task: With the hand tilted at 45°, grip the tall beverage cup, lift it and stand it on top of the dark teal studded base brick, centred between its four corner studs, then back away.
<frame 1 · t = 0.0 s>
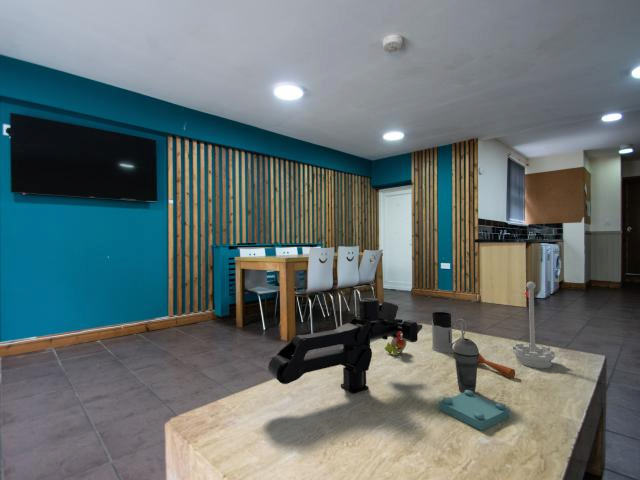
hand: (411, 323, 114), 17 cm above the table, tool horizontal, fingers open, 9 cm apart
base brick: (473, 413, 85), on the table
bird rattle: (396, 354, 133), on the table
kendama: (485, 369, 116), on the table
beverage cup: (467, 391, 98), on the table
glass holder: (448, 350, 136), on the table
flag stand: (533, 363, 121), on the table
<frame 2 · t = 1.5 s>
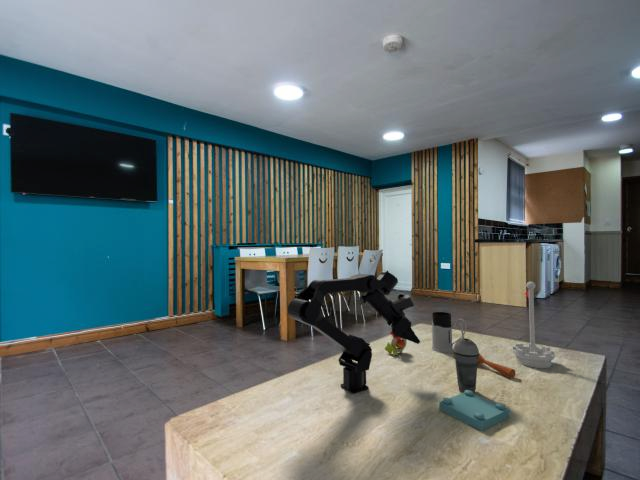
hand: (416, 338, 106), 14 cm above the table, tool tilted 45°, fingers open, 9 cm apart
nothing on the table moved.
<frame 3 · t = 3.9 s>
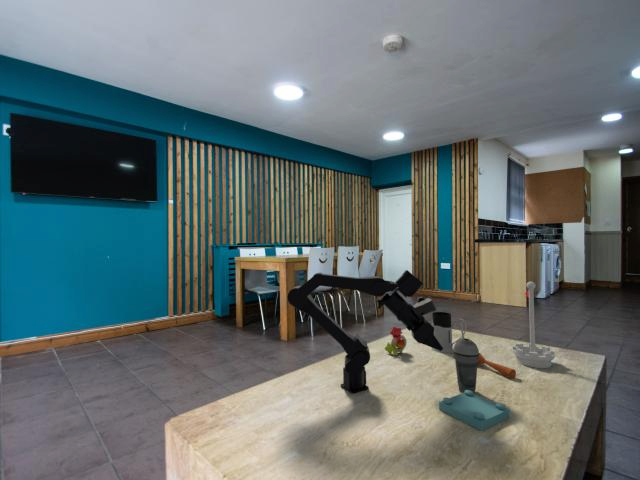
hand: (438, 345, 99), 14 cm above the table, tool tilted 45°, fingers open, 9 cm apart
nothing on the table moved.
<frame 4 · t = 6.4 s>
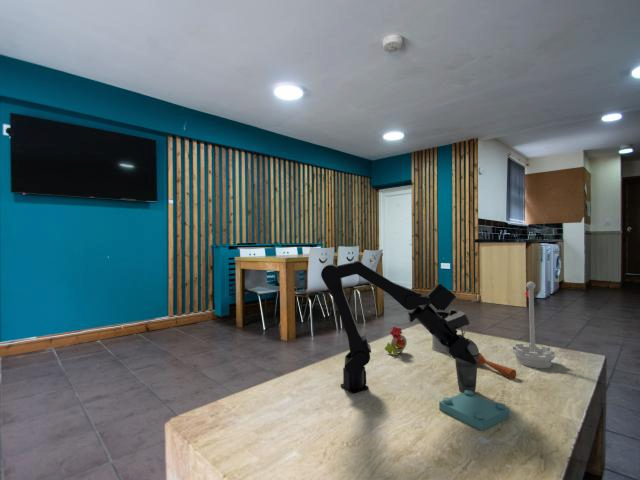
hand: (471, 359, 98), 10 cm above the table, tool tilted 45°, fingers closed on beverage cup, 7 cm apart
beverage cup: (467, 391, 98), on the table, touching gripper
everything else where it was.
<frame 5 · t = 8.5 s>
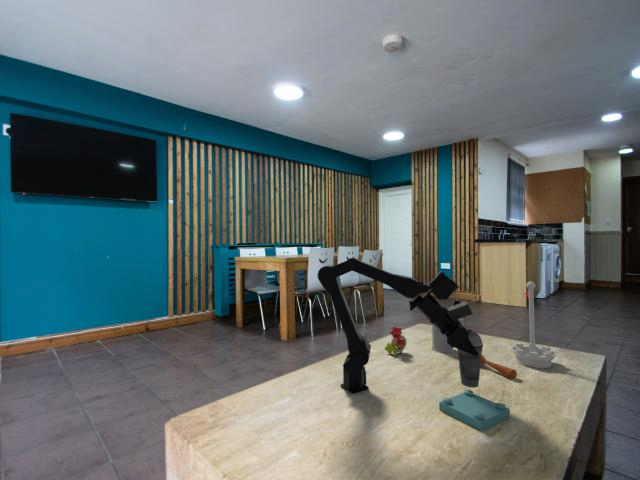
hand: (474, 351, 94), 13 cm above the table, tool tilted 45°, fingers closed on beverage cup, 7 cm apart
beverage cup: (469, 384, 94), point 3 cm above the table, touching gripper
everything else where it was.
when the fingers open (12 cm above the table, at t = 10.4 s): beverage cup stays where it is, resting on base brick.
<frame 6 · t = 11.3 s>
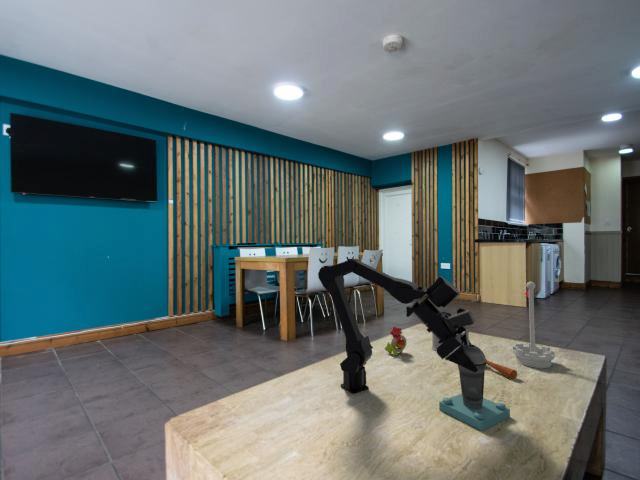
hand: (478, 365, 84), 13 cm above the table, tool tilted 45°, fingers open, 9 cm apart
beverage cup: (472, 405, 85), point 2 cm above the table, touching base brick
everything else where it was.
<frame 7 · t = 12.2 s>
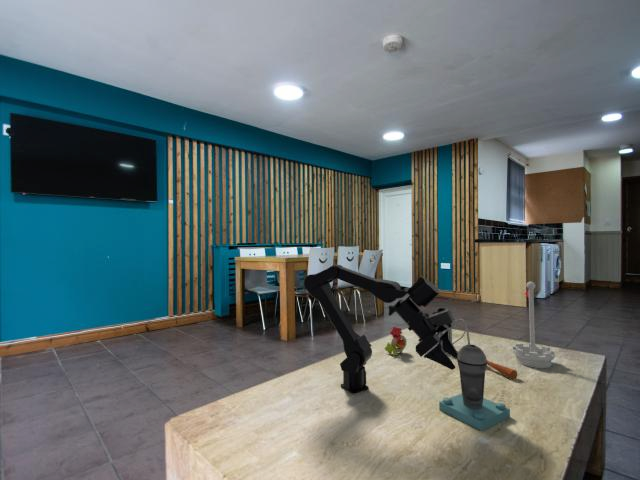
hand: (456, 363, 87), 12 cm above the table, tool tilted 45°, fingers open, 9 cm apart
nothing on the table moved.
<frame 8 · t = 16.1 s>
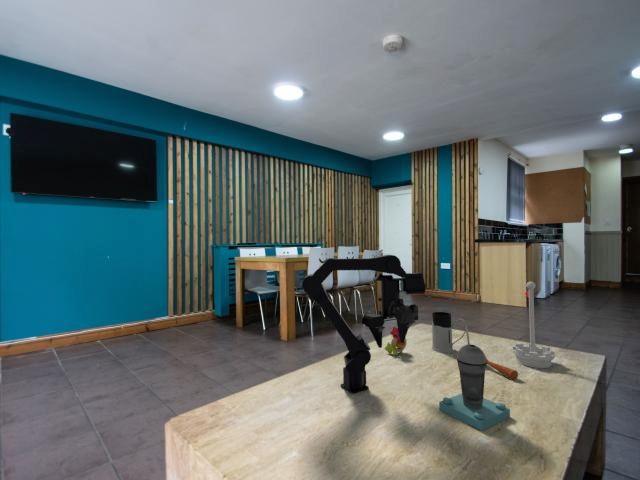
hand: (391, 345, 101), 13 cm above the table, tool pointing down, fingers open, 9 cm apart
at the end: beverage cup 0.2 cm off-centre on the base brick, point 1.8 cm above the base brick's base; beverage cup tilted 0°; the gripper is holding nothing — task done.
